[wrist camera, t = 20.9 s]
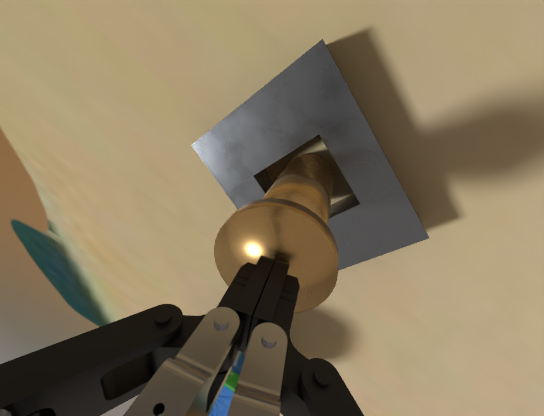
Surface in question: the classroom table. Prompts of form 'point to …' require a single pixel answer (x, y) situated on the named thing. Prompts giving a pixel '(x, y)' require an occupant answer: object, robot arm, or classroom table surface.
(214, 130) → the plate
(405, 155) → the classroom table surface
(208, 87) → the classroom table surface
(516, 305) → the classroom table surface
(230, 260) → the brass flanged peg
